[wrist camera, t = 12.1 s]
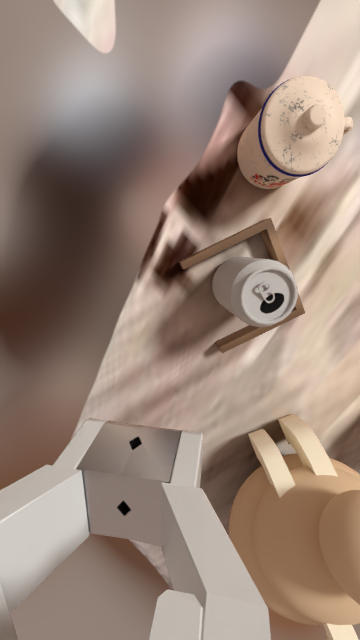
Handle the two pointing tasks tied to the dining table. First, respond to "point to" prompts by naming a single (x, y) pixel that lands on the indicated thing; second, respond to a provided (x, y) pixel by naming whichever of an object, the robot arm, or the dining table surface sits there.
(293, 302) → the can
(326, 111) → the teacup with lid
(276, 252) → the frame
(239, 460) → the dining table surface
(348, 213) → the dining table surface
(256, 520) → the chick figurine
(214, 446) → the dining table surface
